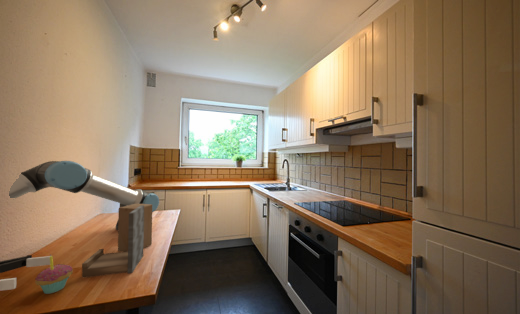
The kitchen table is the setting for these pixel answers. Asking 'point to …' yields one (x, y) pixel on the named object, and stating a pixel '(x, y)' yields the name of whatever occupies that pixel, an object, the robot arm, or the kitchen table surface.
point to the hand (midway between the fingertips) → (35, 270)
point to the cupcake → (53, 277)
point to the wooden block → (124, 225)
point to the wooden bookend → (119, 260)
